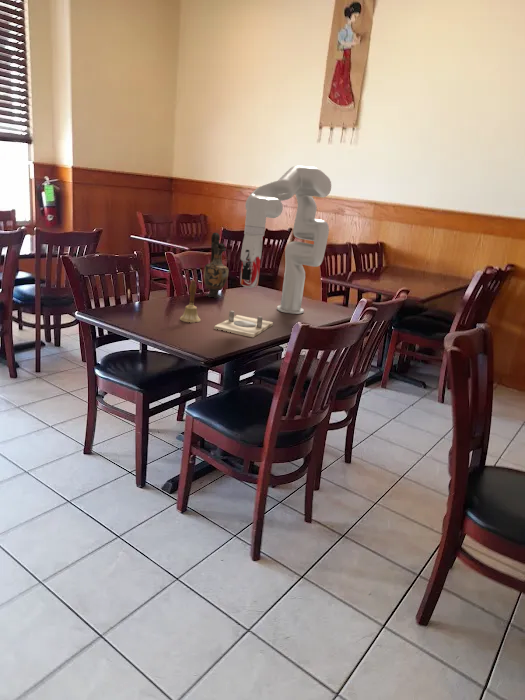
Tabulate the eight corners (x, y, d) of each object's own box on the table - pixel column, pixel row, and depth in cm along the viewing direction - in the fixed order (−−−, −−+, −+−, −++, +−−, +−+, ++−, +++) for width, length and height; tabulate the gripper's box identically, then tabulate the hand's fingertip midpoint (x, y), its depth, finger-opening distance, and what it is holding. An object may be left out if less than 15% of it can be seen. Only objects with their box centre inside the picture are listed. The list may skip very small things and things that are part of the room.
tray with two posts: (237, 317, 210) (238, 305, 208) (272, 325, 205) (274, 312, 203) (214, 329, 190) (215, 315, 188) (253, 337, 185) (254, 324, 184)
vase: (207, 299, 236) (212, 234, 226) (197, 293, 246) (202, 231, 236) (230, 299, 241) (235, 236, 232) (219, 293, 251) (224, 232, 242)
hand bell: (204, 319, 201) (207, 280, 196) (194, 324, 193) (197, 283, 188) (185, 315, 203) (188, 277, 198) (175, 320, 196) (178, 279, 191)
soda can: (237, 286, 190) (240, 254, 186) (242, 283, 196) (245, 252, 193) (255, 289, 189) (259, 257, 185) (259, 285, 195) (262, 255, 192)
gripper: (253, 228, 195) (249, 273, 201) (236, 230, 179) (231, 279, 185) (271, 231, 193) (266, 277, 198) (255, 233, 177) (250, 283, 183)
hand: (249, 277), depth 192 cm, fingers closed on soda can, 7 cm apart
